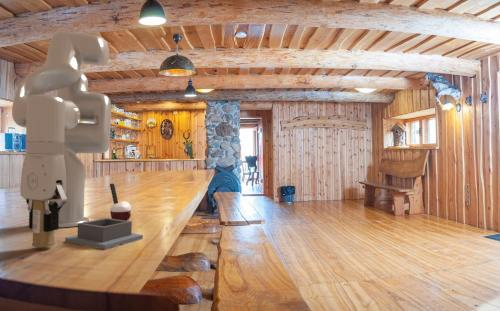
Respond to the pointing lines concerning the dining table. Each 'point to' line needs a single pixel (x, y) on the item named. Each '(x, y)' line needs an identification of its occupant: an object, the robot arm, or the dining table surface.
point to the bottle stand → (104, 233)
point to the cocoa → (119, 207)
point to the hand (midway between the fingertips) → (43, 228)
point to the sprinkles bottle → (41, 226)
